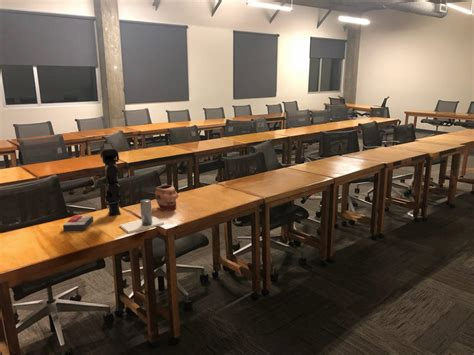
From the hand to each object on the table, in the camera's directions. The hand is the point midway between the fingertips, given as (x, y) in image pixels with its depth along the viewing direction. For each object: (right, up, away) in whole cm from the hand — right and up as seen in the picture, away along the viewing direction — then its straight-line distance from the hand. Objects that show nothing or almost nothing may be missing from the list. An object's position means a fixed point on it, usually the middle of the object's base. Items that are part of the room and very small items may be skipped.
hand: (114, 199), depth 208 cm
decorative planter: (+24, -7, +25) cm, 35 cm away
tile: (+16, -14, -2) cm, 21 cm away
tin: (+19, -13, -3) cm, 23 cm away
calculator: (-18, -15, -2) cm, 24 cm away
